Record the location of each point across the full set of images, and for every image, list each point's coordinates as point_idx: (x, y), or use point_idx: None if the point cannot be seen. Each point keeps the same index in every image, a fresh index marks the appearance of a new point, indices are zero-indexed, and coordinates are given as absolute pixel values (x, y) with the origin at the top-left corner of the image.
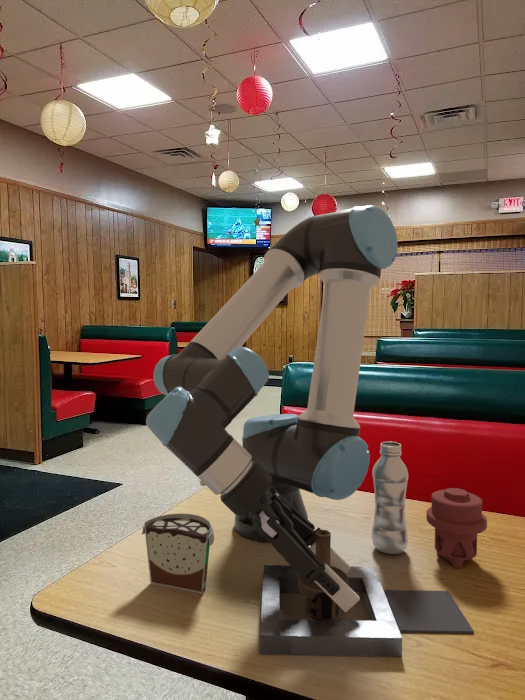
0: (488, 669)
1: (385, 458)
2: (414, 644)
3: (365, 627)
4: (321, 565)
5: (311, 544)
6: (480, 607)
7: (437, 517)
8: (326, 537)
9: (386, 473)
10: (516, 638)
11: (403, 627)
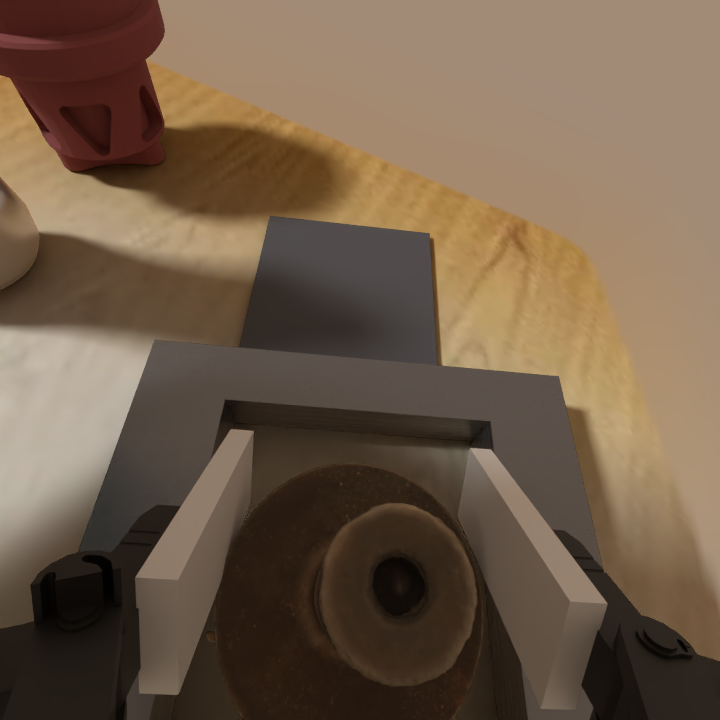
0: (534, 259)
1: None
2: (479, 357)
3: (530, 465)
4: (690, 655)
5: (134, 663)
6: (335, 191)
7: (51, 33)
8: (468, 560)
9: None
10: (436, 185)
11: (425, 359)
